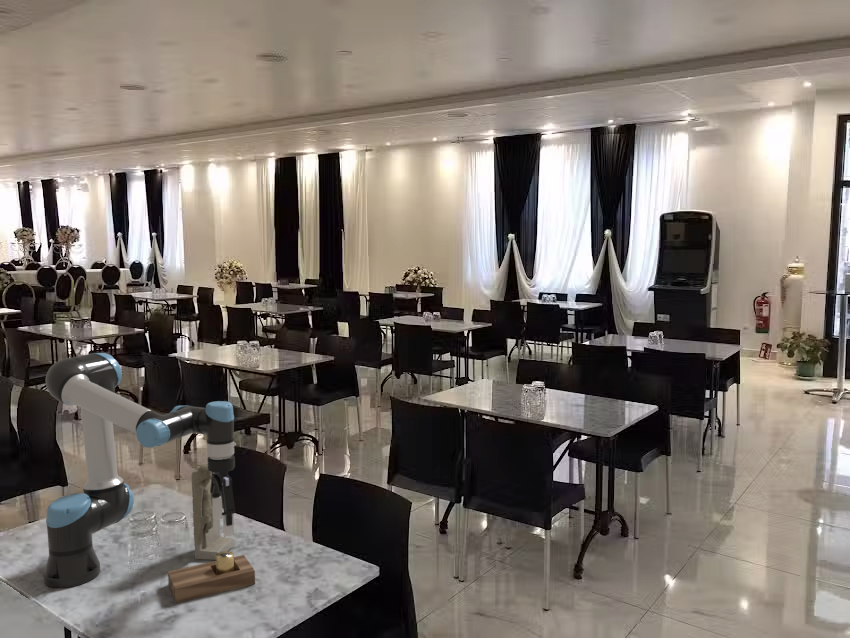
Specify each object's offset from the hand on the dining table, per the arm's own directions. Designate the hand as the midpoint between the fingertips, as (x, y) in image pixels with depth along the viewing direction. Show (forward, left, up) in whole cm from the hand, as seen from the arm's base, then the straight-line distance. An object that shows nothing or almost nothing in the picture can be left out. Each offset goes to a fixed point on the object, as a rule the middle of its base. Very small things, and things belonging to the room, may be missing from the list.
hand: (223, 527), depth 203 cm
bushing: (0, 0, -16) cm, 16 cm away
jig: (0, -4, -16) cm, 17 cm away
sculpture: (-21, +1, -17) cm, 27 cm away
